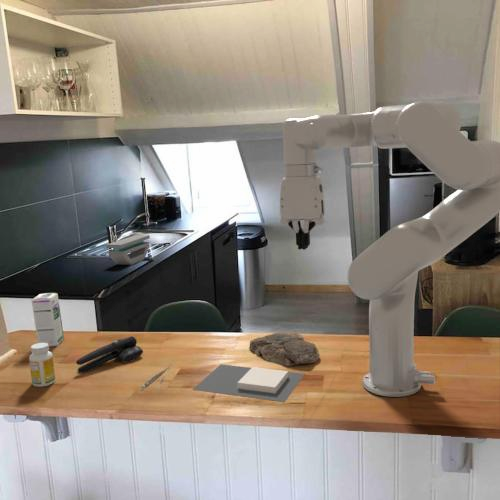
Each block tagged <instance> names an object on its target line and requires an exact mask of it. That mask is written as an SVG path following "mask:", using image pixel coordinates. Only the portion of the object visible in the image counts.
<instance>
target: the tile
mask: <svg viewBox="0 0 500 500" xmlns="http://www.w3.org/2000/svg"><path fill="white" fill-rule="evenodd" d="M250 368H251V369H250V370H249V371H248V372H247V373H246V374H245V375H244V376H243V377H242V378H241V379H240V380H239V382H238V389H240V390H248V391H256V392H263V393H271V394H276V393H277V392H278V390H279V389H280V388H281V386H282V385H283V384H284V383H285V381H286V380H287V379H288V378H289V376H288V372H289V370H280V369H274V368H272V369H271V368H264V367H263V368H262V367H257V366H256V367H255V366H252V367H250Z"/></svg>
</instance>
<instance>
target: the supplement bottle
mask: <svg viewBox="0 0 500 500" xmlns="http://www.w3.org/2000/svg"><path fill="white" fill-rule="evenodd" d="M49 350H50V346H48V343H38V342H37V343H35V344H32V345H31V346H30V352H31V354H30V355H29V357H28V361H29V368H30V376H31V381H32V382H31V383H32V384H31V385H33V386H34V387H36V388H43V387H47V386H50V385H53V384H54V383H55V381H56V373H55V364H54V357H53V353H52V352H51V351H49Z"/></svg>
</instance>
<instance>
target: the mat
mask: <svg viewBox="0 0 500 500" xmlns="http://www.w3.org/2000/svg"><path fill="white" fill-rule="evenodd" d="M251 368H252V367H248V366H239V365H232V364H231V365H230V364H229V365H228V364H221V363H220V364H219V365H218V366H217V367H216V368H214V370H213V371H211V372H210V373H209V374H208V375H207V376H206V377H204V378H203V380H201V381H200V382H199V383H198V384H197V385H196V386H195V387H193V389H192V390H193V391H198V392H199V391H200V392H207V393H213V394H214V393H215V394H221V395H222V394H223V395H230V396H236V397H243V398H244V397H245V398H251V399H257V400H259V399H260V400H266V401H272V402H281V403H285V402H286V401H287V399H288V398H289V396H290V395H291V394H292V393H293V391H294V390H295V388H296V387H297V385H299V383H300V381H301V380H302V379H303V377H304V376H305V374H306V373H299V372H292V371H288V376H289V378H288V379H287V380H286V381H285V383H284V384H283V385H282V386H281V388H280V389H279V390H278V392H277V393H276V394H271V393H263V392H256V391H248V390H240V389H238V382H239V380H240V379H241V378H242V377H243V376H244V375H245V374H246V373H247V372H248V371H249V370H250V369H251Z"/></svg>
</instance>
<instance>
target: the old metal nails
mask: <svg viewBox="0 0 500 500" xmlns="http://www.w3.org/2000/svg"><path fill="white" fill-rule="evenodd" d="M171 367H172V366H168V367H165V369H163V370H161V371H160V372H157V374H155V375H152V376H151V377H150V378H149V379H148V380H147V381H146V382H144V384H143V385H141V387H140V390H141V391H144V390H146V388H147V387H148V386H149V385H151V384H153V382H154V381H156V380H157V379H158V377H160V376H161V375H162V374H163V373H164V375H162V378H161V380H160V381H159V383H158V385H157V388H161V386H162V385H161V383H162V381H163V380H164V378H165V376H166V373H167V372H168V371H170V370H171Z"/></svg>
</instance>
